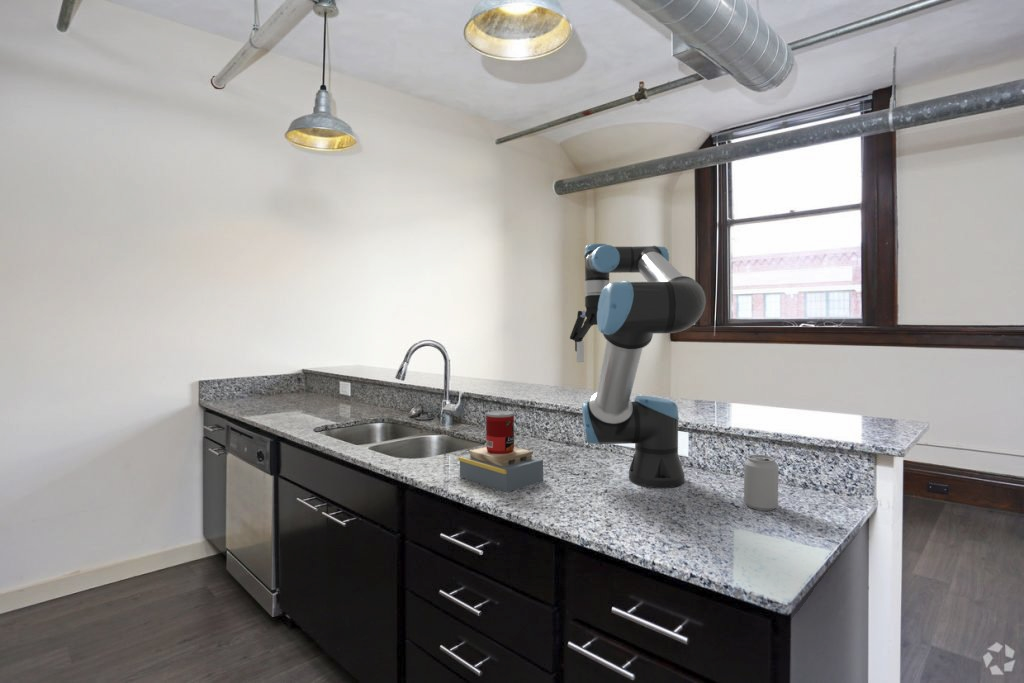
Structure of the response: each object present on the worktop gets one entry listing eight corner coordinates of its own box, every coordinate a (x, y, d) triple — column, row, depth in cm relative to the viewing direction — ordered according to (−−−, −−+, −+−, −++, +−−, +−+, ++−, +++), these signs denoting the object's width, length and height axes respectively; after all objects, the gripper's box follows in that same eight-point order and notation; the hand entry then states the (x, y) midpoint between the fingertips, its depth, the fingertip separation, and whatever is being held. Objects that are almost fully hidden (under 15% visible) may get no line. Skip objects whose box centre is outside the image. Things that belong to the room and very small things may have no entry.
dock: (543, 480, 150) (543, 459, 150) (505, 492, 140) (504, 470, 140) (495, 467, 164) (495, 448, 164) (458, 477, 154) (458, 456, 154)
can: (776, 514, 123) (776, 462, 122) (741, 508, 127) (741, 458, 126) (779, 504, 129) (780, 455, 129) (746, 499, 133) (746, 451, 133)
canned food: (511, 454, 148) (510, 415, 147) (483, 453, 149) (482, 414, 149) (516, 448, 155) (516, 410, 155) (489, 447, 157) (489, 410, 156)
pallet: (532, 458, 151) (532, 451, 151) (501, 466, 143) (501, 459, 143) (499, 450, 161) (499, 443, 161) (468, 457, 153) (468, 450, 153)
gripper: (638, 293, 159) (638, 364, 159) (573, 296, 177) (574, 360, 177) (623, 292, 153) (624, 366, 154) (558, 296, 172) (559, 361, 172)
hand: (597, 363), depth 166 cm, fingers open, 13 cm apart
